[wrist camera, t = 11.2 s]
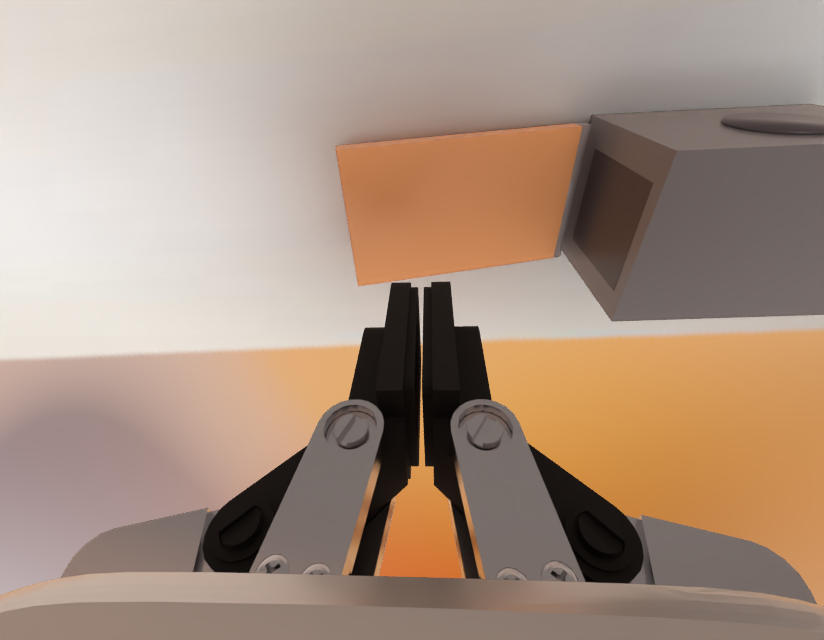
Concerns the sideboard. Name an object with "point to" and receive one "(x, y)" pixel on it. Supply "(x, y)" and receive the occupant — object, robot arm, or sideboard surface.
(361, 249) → the side door
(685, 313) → the camera housing
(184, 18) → the sideboard surface
